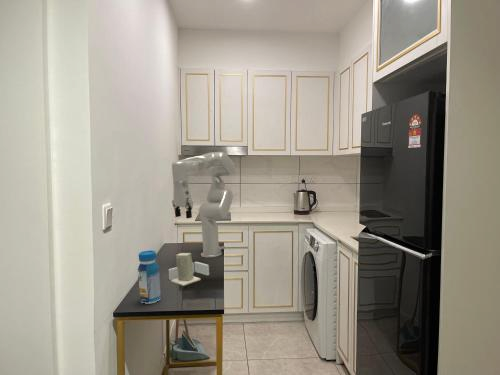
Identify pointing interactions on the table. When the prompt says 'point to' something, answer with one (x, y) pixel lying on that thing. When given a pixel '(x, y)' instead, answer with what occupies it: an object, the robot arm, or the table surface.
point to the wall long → (175, 273)
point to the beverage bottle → (149, 278)
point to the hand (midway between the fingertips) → (183, 217)
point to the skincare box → (184, 266)
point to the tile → (183, 283)
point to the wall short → (201, 268)
